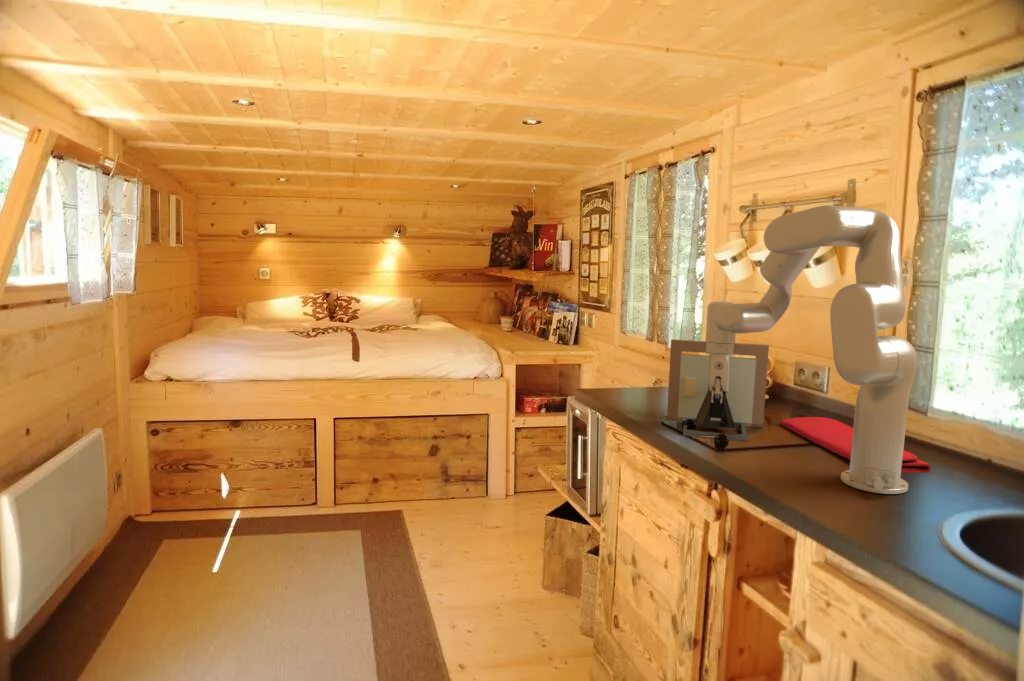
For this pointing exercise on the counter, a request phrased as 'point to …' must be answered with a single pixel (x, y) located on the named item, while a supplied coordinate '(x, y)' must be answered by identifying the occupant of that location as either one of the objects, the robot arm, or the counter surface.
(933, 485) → the counter surface
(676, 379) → the tan picture frame
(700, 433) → the grey flat square frame
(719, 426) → the phone stand
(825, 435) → the dish drying mat
